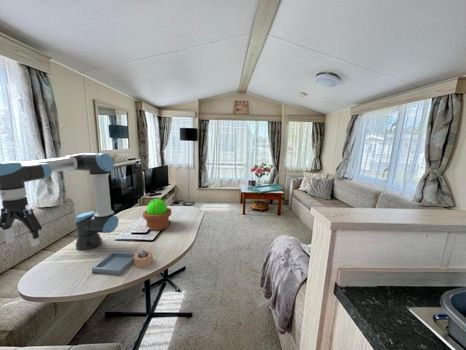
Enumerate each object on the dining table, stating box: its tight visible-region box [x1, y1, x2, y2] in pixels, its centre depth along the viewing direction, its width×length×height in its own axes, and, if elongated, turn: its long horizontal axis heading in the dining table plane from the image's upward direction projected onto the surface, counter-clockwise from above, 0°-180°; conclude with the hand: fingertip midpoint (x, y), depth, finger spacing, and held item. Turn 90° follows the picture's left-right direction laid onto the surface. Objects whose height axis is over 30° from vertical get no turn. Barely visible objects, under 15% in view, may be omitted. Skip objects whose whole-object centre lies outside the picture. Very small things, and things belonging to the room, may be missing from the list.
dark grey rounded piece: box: [137, 250, 148, 269], centre depth 125 cm, size 10×10×8 cm
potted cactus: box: [142, 198, 172, 231], centre depth 175 cm, size 22×22×25 cm
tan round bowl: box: [133, 250, 154, 269], centre depth 125 cm, size 10×10×5 cm
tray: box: [91, 251, 137, 276], centre depth 123 cm, size 17×17×3 cm
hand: (23, 243), depth 93 cm, fingers open, 13 cm apart
